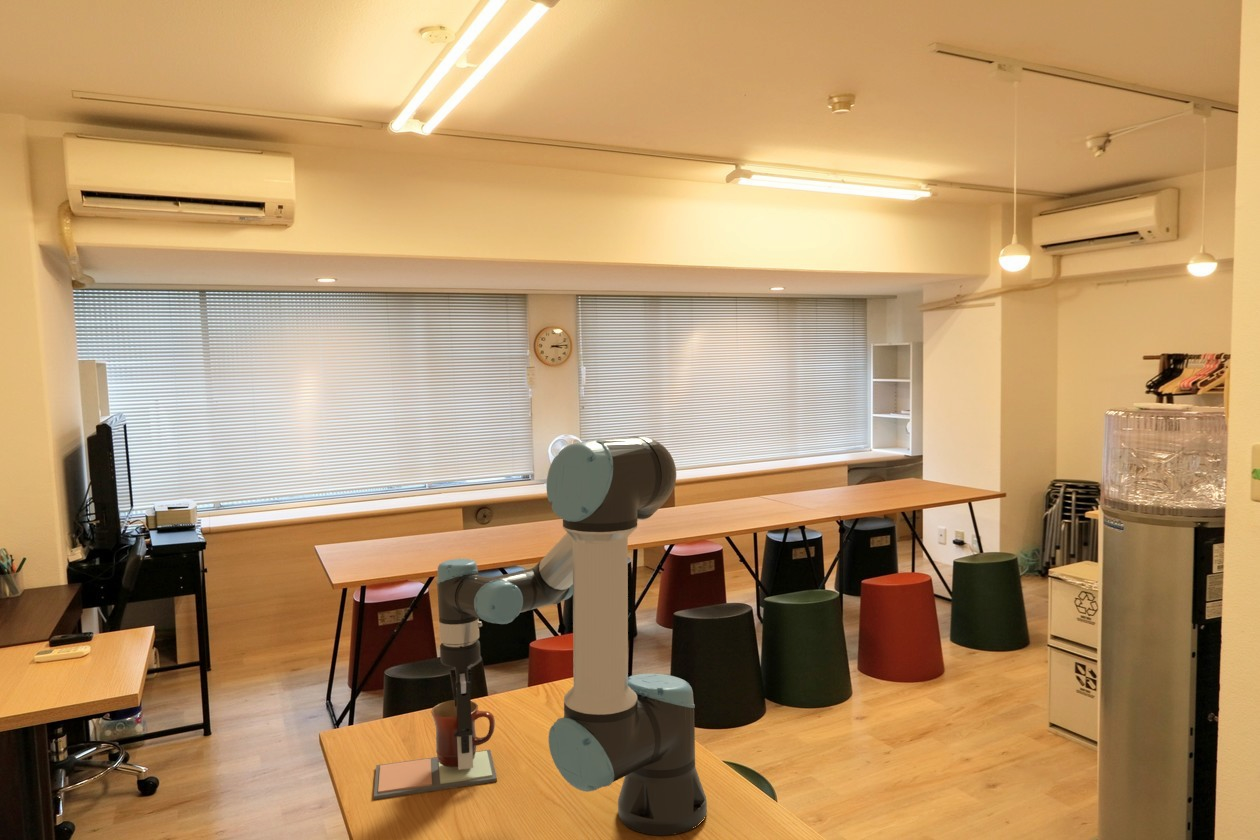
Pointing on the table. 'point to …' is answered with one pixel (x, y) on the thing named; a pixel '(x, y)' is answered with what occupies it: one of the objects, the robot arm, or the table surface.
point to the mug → (455, 731)
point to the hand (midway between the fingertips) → (464, 758)
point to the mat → (430, 776)
